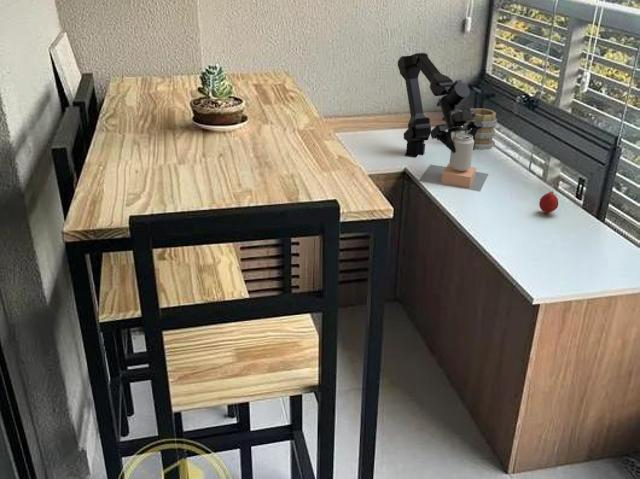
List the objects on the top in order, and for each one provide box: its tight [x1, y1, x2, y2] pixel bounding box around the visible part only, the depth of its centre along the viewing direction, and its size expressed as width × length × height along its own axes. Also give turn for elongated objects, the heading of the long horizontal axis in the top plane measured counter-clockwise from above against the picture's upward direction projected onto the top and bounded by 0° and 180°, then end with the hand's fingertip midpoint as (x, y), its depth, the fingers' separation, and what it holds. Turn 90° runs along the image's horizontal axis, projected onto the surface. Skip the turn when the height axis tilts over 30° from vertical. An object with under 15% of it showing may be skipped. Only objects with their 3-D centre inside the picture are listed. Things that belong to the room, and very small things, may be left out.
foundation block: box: [441, 163, 477, 188], centre depth 231 cm, size 10×10×4 cm
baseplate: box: [418, 164, 489, 192], centre depth 234 cm, size 22×18×1 cm
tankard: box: [454, 108, 498, 150], centre depth 266 cm, size 20×13×15 cm, turn 104°
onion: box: [538, 190, 559, 215], centre depth 209 cm, size 6×6×8 cm
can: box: [448, 132, 474, 171], centre depth 227 cm, size 8×8×12 cm
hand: (464, 151), depth 225 cm, fingers closed on can, 7 cm apart
